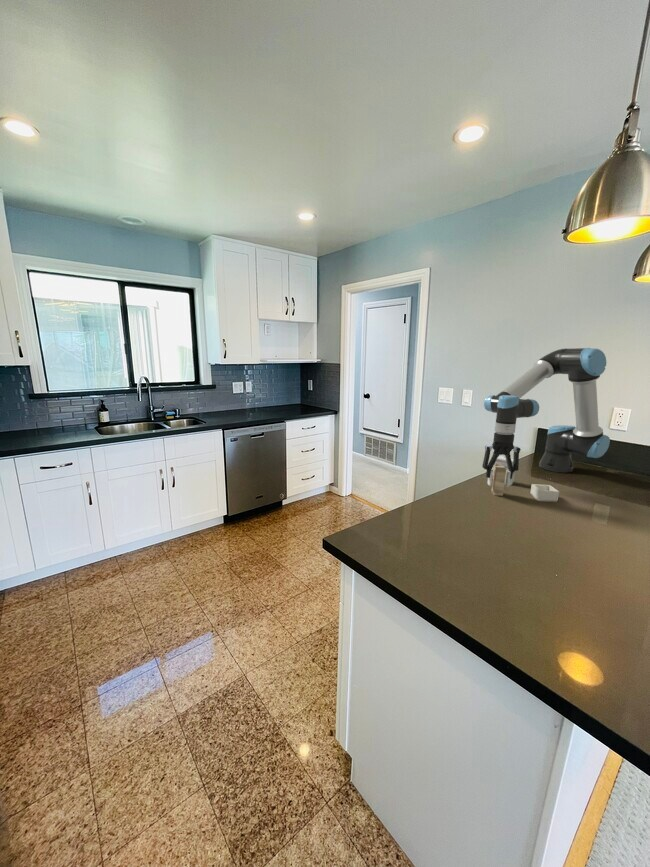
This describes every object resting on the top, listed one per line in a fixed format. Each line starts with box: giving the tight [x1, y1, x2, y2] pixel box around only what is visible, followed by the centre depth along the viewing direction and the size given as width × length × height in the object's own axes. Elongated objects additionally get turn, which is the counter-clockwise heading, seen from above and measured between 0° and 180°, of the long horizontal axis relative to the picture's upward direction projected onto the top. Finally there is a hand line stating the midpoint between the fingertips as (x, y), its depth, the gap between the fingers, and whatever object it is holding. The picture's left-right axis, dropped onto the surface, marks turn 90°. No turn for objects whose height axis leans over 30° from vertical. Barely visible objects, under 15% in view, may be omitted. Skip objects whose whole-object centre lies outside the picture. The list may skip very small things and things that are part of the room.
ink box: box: [492, 455, 516, 486], centre depth 164 cm, size 9×5×12 cm, turn 50°
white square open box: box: [529, 483, 560, 503], centre depth 147 cm, size 7×7×4 cm
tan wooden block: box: [491, 466, 506, 497], centre depth 150 cm, size 4×4×12 cm
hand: (497, 485), depth 150 cm, fingers open, 6 cm apart
